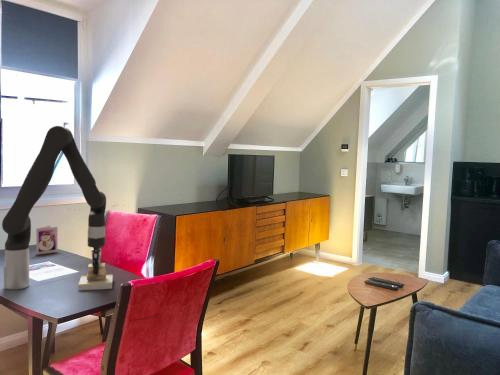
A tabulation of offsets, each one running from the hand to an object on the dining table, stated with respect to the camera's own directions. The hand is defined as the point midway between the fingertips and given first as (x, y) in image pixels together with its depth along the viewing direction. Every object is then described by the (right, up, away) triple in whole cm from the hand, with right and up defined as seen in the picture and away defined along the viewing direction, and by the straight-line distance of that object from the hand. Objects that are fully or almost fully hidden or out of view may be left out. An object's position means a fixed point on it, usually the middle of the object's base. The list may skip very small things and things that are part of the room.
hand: (96, 272), depth 187 cm
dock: (0, -6, 0) cm, 6 cm away
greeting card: (-50, 0, +54) cm, 74 cm away
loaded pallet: (0, -3, 0) cm, 3 cm away
